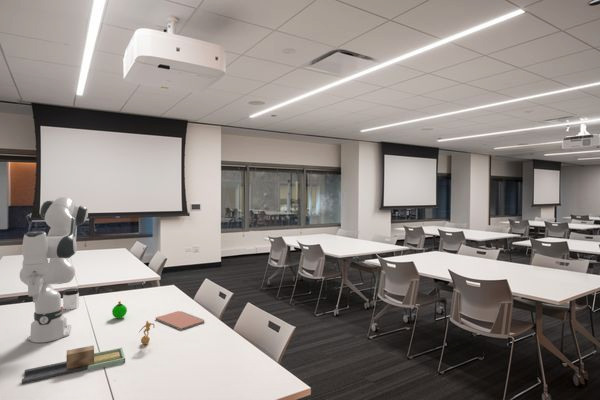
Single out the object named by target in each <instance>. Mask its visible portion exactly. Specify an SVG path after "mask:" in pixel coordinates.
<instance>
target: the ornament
mask: <svg viewBox="0 0 600 400" xmlns="http://www.w3.org/2000/svg"><path fill="white" fill-rule="evenodd" d="M111 311H112V312H111V314H112V316H113V317H114V318H115V319H121V318H123V317H125V315H126V314H127V312H128V307H127V306H126V305H124V304H122V302H121V301H120V300H119V301H118V304H116V305H115V306H113V308H112V310H111Z"/></svg>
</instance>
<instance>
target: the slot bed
mask: <svg viewBox="0 0 600 400" xmlns="http://www.w3.org/2000/svg"><path fill="white" fill-rule="evenodd" d="M84 371H88V367H87V365H84V366H80V367H75V368H70V369H67V360H65V361H61V362H56V363H52V364H47V365H42V366H37V367H36V366H35V367H32V368H27V369H24V375H23V378H21V385H26V384H31V383H35V382H39V381H44V380H48V379H53V378H57V377H62V376H66V375H71V374H76V373H80V372H84Z"/></svg>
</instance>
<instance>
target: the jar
mask: <svg viewBox="0 0 600 400" xmlns="http://www.w3.org/2000/svg"><path fill="white" fill-rule="evenodd" d="M62 304H63V305H62V307H63V310H65V309H66V310H65V311H70V309H71V310H76V309H78V308H79V307H80V293H79V288H77V287H75V288H72V287H71V288H66V289H64V290H63V295H62ZM75 308H76V309H75Z"/></svg>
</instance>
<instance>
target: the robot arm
mask: <svg viewBox="0 0 600 400" xmlns="http://www.w3.org/2000/svg"><path fill="white" fill-rule="evenodd" d="M39 215H40V217H41V218H42V219H43V220H44V221H45V223H46V225H47V226H48V227H50V229H49V231H48V233H46V232H45V231H44V230H33V231H27V232H26V233H24V235H23V238H22V239H23V240H22V248H21V249H22V250H21V253H22V257H23V260H22V267H21V269H20V271H19V279H20V281H21V282H22V283H23V284H24V285H26V286H27V296H28V297H32V303H34V313H33V320H34V321H32V322H31V323H30V335H28V336H27V338H26V340H27V341H31V342H32V343H37V344H38V343H47V342H52V341H56V340H59V339H61V338H66V337H69V336H70V334H71V330H72V325H71V324H68V323H67V322H68V321H67V320H68V319H67V318H66V317H65V316H64V315H63V310H64V309H63V306H62V304H61V303H62V298H61V297H62V296H61V293H60V292H59V291H58V290H55V289H54V288H53V287H52V285H62V284H63V285H64V284H68V283H70V282H71V281H72V280H73V279H74V277H75V275H76V269H75V267H74V266H73V265H72V264H71V262H69V258H71V257H72V256H74V255H75V254H76V252H77V249H78V247H77V246H78V245H77V235H78V234H77V233H78V231H77V230H78V226H81V225H83V224H84V223H85V222H86V220H87V219H88V216H89V212H88V208H87V207H85V206H84V205H79V204H76V203H74V201H73V200H72V199H71V198H69V197H65V196H64V197H62V196H61V197H58V198H56V199H54V200H46V201H44V202H43V204H42V205H41V206H40V208H39Z"/></svg>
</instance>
